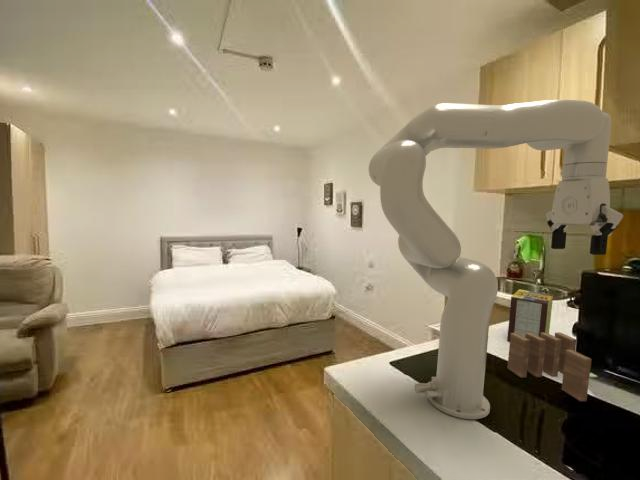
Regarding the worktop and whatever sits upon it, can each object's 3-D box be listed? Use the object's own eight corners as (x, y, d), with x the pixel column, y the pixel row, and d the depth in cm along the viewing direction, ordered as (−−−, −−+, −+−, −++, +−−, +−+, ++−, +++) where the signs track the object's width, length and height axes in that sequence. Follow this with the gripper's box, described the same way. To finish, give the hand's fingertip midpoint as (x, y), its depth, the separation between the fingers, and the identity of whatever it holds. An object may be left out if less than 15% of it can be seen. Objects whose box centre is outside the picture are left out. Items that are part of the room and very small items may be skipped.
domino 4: (567, 376, 87) (571, 339, 86) (551, 367, 92) (555, 332, 91) (572, 376, 87) (576, 339, 86) (556, 367, 92) (560, 332, 91)
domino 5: (580, 401, 75) (585, 359, 74) (561, 389, 80) (565, 349, 79) (586, 401, 75) (591, 359, 74) (567, 389, 80) (571, 349, 79)
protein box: (548, 337, 115) (553, 294, 113) (543, 351, 103) (549, 302, 102) (514, 329, 121) (518, 288, 120) (506, 341, 110) (510, 296, 108)
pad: (578, 377, 86) (578, 376, 86) (556, 365, 93) (556, 364, 93) (597, 377, 87) (597, 376, 87) (573, 364, 94) (573, 363, 94)
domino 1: (520, 377, 85) (524, 340, 84) (507, 368, 90) (510, 332, 89) (526, 377, 85) (530, 340, 84) (512, 368, 90) (516, 332, 89)
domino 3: (551, 376, 86) (555, 339, 85) (536, 367, 91) (540, 332, 90) (557, 376, 86) (561, 339, 85) (541, 367, 91) (545, 332, 90)
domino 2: (536, 377, 85) (540, 339, 85) (522, 368, 90) (525, 332, 90) (541, 377, 86) (545, 339, 85) (527, 367, 91) (531, 332, 90)
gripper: (536, 176, 79) (531, 247, 81) (608, 168, 62) (599, 257, 64) (564, 177, 80) (558, 247, 82) (642, 169, 63) (632, 257, 65)
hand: (576, 251), depth 73 cm, fingers open, 9 cm apart
